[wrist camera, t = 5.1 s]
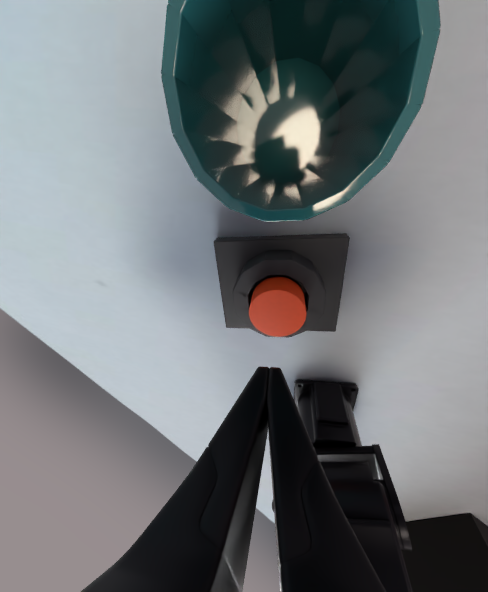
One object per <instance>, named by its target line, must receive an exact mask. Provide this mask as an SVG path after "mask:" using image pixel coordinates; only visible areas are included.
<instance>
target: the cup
mask: <svg viewBox="0 0 488 592" xmlns="http://www.w3.org/2000/svg"><path fill="white" fill-rule="evenodd" d="M440 26H441V24H440V13H439V2H438V0H168V5H167V13H166V25H165V36H164V47H163V58H162V70H161V74H162V82H163V88H164V93H165V98H166V103H167V108H168V114H169V119H170V124H171V129H172V133H173V136H174V138H175V140H176V142H177V144H178V146H179V148H180V150H181V151H182V153H183V155H184V157H185V159H186V161H187V163H188V165H189V167H190V168H191V170H192V172H193V174H194V176H195V178H197V180H198V181H199V182H200V183H201V184H202V185H203V186H204V187H205V188H206V189H208V190H209V191H210V192H211V193H212V194H213V195H214V196H215V197H216V198H217V199H218V200H219V201H221V202H222V203H223V204H224V205H225V206H226V207H228V208H229V209H231V210H234V211H237V212H239V213H242V214H245V215H248V216H250V217H253V218H256V219H258V220H261V221H265V222H278V221H301V220H305V219H306V220H307V219H310V218H312V217H314V216H316V215H319V214H321V213H323V212H325V211H328V210H330V209H332V208H334V207H337V206H339V205H341V204H343V203H346V202H347V201H349V200H350V199H351V198H352V197H353V196H354V195H355V194H356V193H357V192H359V191H360V190H361V189H362V188H363V187H364V186H365V185H366V184H367V183H368V182H369V181H370V180H371V179H373V178H374V177H375V176H376V175H377V174H378V173H379V172H380V171H381V170H382V169H383V168H384V167H385V166H386V165H387V164H388V163H389V162H390V160H391V158H392V157H393V155H394V153H395V151H396V150H397V148H398V146H399V145H400V143H401V141H402V139H403V138H404V136H405V134H406V133H407V131H408V129H409V127H410V126H411V124H412V122H413V120H414V119H415V117H416V115H417V114H418V112H419V110H420V108H421V105H422V104H423V100H424V96H425V92H426V88H427V84H428V79H429V75H430V71H431V67H432V63H433V59H434V55H435V50H436V46H437V42H438V38H439V34H440Z"/></svg>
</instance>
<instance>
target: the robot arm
mask: <svg viewBox="0 0 488 592" xmlns="http://www.w3.org/2000/svg"><path fill="white" fill-rule="evenodd" d="M299 384H300V385H299ZM357 394H358V387H357V385H356V384H350V383H336V382H322V381H308V380H297V381H295V393H294V399H293V397H292V394H291V392H290V389H289V387H288V385H287V382H286V380H285V378H284V375H283V373H282V370H281V369H280V368H275V367H271V368H270V369H269V368H268V367H258V368H257V370H256V371H255V373H254V374H253V376H252V377H251V379H250V381H249V382H248V384H247V385H246V387H245V388H244V390H243V392H242V393H241V395H240V396H239V398H238V399H237V401H236V402H235V404H234V406H233V407H232V409H231V410H230V412H229V413H228V415H227V416H226V418H225V420H224V421H223V423H222V424H221V426H220V427H219V429H218V431H217V432H216V434H215V435H214V437H213V438H212V440H211V441H210V443H209V445H208V446H209V447H207V448H206V449H205V451H204V452H203V454H202V455H201V457H200V458H199V460H198V461H197V463H196V464H195V466H194V467H193V469H192V470H191V472H190V473H189V475H188V476H187V477H186V479H185V480H184V481H183V483H182V484H181V485H180V486H179V488H178V489H177V491H176V492H175V493H174V494H173V496H172V497H171V498H170V499H169V501H168V502H167V503H166V504H165V506H164V507H163V508H162V509H161V511H160V512H159V513H158V515H157V516H156V517H155V518H154V520H153V521H152V522H151V523H150V525H149V526H148V527H147V529H146V530H145V531H144V532H143V534H142V535H141V536H140V537H139V538H138V540H137V541H136V542H135V543H134V544H133V545H132V547H131V548H130V549H129V550H128V551H127V552H126V553H125V554H124V555H123V556H122V557H121V558H120V559H119V560H118V561H117V562H116V563H115V564H114V565H113V566H112V567H110V568H109V569H108V570H107V571H106V572H104V573H103V574H102V575H101V576H99V577H98V578H97V579H96V580H94V581H93V582H92V583H91V584H90V585H88V586H87V587H86V588H85V589H83V590H82V591H81V592H242V590H243V583H244V578H245V571H246V565H247V558H248V552H249V546H250V539H251V533H252V527H253V521H254V514H255V508H256V502H257V495H258V489H259V483H260V477H261V470H262V464H263V458H264V451H265V445H266V439H267V432H268V429H269V444H270V458H271V472H272V486H273V502H272V510H273V512H274V514H275V528H276V542H277V556H278V569H279V584H280V592H413V591H412V587H411V584H410V580H409V576H408V573H407V569H406V565H405V562H404V558H403V555H402V551H401V549H403V550H410V551H412V545H411V541H410V537H409V533H408V530H407V526H406V523H405V519H404V516H403V513H402V509H401V506H400V503H399V500H398V497H397V494H396V491H395V488H394V485H393V483H392V480H391V477H390V474H389V472H388V469H387V466H386V463H385V460H384V458H383V455H382V452H381V449H380V446H379V444H378V445H372V446H362V445H361V441H360V437H359V433H358V429H357V425H356V422H355V418H354V414H353V409H354V406H355V402H356V398H357Z"/></svg>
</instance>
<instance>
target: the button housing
mask: <svg viewBox="0 0 488 592" xmlns="http://www.w3.org/2000/svg"><path fill="white" fill-rule="evenodd" d="M349 239H350V238H349V236H348V235H347V234H321V235H291V236H261V237H230V238H216V240H215V241H214V247H215V254H216V261H217V267H218V274H219V281H220V288H221V295H222V302H223V308H224V315H225V322H226V328H249V329H252V330H254V331H256V332H258V333H260V334H262V335H264V336H268V337H277V336H270V335H267V334H264V333H262V332H261V331H259V330H258V329H257V328H256V327H255V326H254V325H253V324H252V322H251V320H250V317H249V307H250V303H251V299H252V295H253V291H254V289H255V288H256V286H257V285H258V284H259V283H260V282H261V281H263V280H265V279H267V278H270V277H285V278H289V279H291V280H293V281H294V282H296V283H297V284H298V285H299V286H300V287H301V289H302V291H303V293H304V297H305V305H306V320H305V322H304V324H303V325H302V327H301V328H300V329H299V330H298V331H296V332H295V333H293V334H290V335H287V336H281V337H292V336H294V335H297V334H299V333H302V332H304V331H333V332H335V331H336V325H337V318H338V311H339V305H340V298H341V292H342V285H343V279H344V272H345V265H346V259H347V252H348V246H349Z"/></svg>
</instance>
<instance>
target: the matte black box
mask: <svg viewBox="0 0 488 592" xmlns="http://www.w3.org/2000/svg"><path fill="white" fill-rule="evenodd" d="M405 523H406V526H407V530H408V533H409V537H410V541H411V545H412V551H410V550H403V549H401V551H402V555H403V558H404V562H405V565H406V569H407V573H408V576H409V580H410V584H411V587H412V591H413V592H488V527H487V526H486V525H485V524H484V523H482V522H481V521H480V520H478V519H477V518H476V517H474V516H473V515H472V514H463V515H456V516H449V517H441V518H434V519H427V520H419V521H412V522H405Z"/></svg>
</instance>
